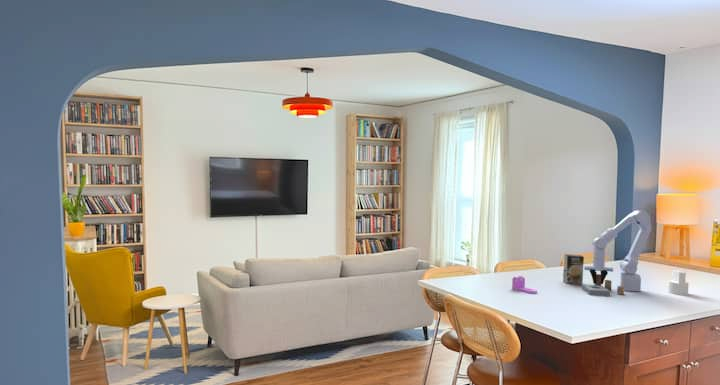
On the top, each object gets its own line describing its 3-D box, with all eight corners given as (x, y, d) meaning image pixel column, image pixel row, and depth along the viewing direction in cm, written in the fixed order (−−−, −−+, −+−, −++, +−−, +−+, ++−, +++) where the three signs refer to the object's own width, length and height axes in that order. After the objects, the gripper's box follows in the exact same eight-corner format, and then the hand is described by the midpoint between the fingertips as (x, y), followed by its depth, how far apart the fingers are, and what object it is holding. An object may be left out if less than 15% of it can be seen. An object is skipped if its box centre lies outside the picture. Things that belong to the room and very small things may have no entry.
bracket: (512, 289, 262) (512, 276, 261) (518, 288, 265) (519, 275, 264) (532, 294, 251) (532, 281, 250) (539, 293, 254) (539, 280, 254)
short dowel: (622, 293, 258) (622, 286, 257) (624, 295, 254) (625, 287, 254) (616, 293, 258) (616, 285, 258) (618, 294, 255) (618, 287, 255)
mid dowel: (609, 290, 265) (610, 280, 265) (612, 291, 262) (612, 281, 262) (603, 289, 266) (604, 279, 266) (605, 291, 263) (606, 281, 262)
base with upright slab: (691, 295, 257) (692, 273, 257) (672, 294, 259) (673, 272, 259) (683, 291, 266) (684, 270, 266) (665, 290, 268) (666, 269, 268)
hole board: (601, 289, 265) (601, 285, 265) (610, 295, 252) (610, 291, 251) (581, 288, 267) (582, 284, 267) (589, 294, 253) (589, 289, 253)
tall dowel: (600, 286, 273) (600, 274, 272) (601, 287, 269) (602, 275, 269) (594, 286, 273) (594, 273, 273) (595, 287, 270) (596, 275, 270)
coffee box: (566, 283, 279) (567, 255, 279) (562, 281, 286) (563, 254, 285) (582, 284, 278) (584, 256, 278) (579, 282, 285) (580, 254, 284)
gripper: (610, 258, 274) (609, 282, 274) (583, 257, 276) (582, 281, 276) (614, 261, 267) (613, 285, 267) (586, 259, 269) (585, 284, 269)
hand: (598, 283), depth 271 cm, fingers closed on tall dowel, 3 cm apart
